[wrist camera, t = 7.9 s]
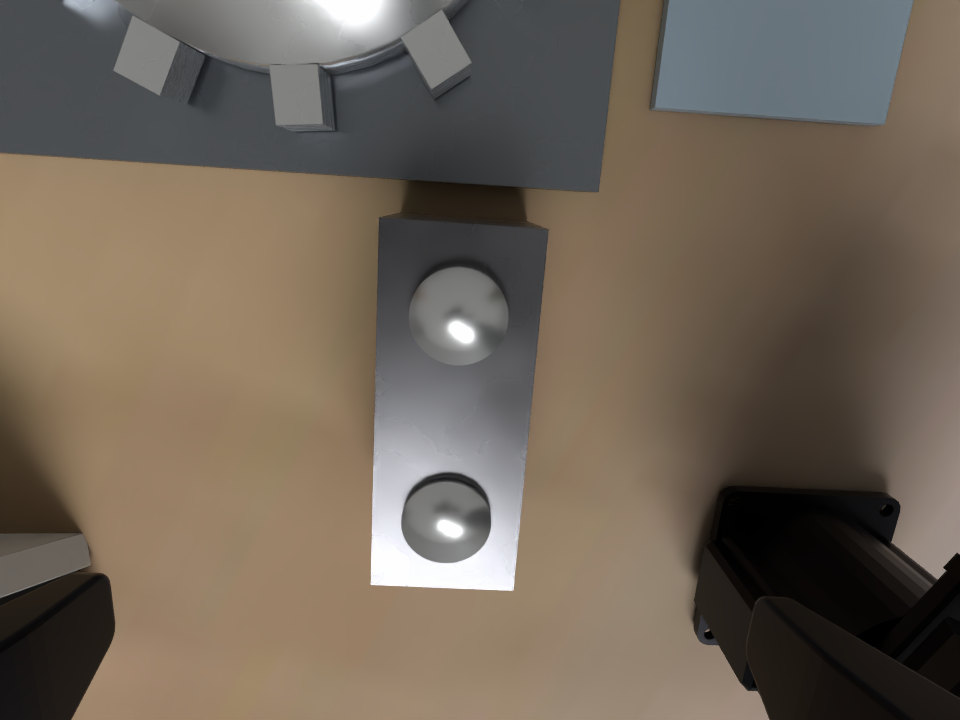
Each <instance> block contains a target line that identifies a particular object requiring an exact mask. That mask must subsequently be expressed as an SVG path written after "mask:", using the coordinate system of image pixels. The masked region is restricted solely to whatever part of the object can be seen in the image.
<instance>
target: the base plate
mask: <svg viewBox="0 0 960 720" xmlns="http://www.w3.org/2000/svg"><path fill="white" fill-rule="evenodd" d="M619 6H620V0H468V1H467V2H466V3H465V4H464V5H463V7H462V8H461V9H460V10H459V11H458V12H457V13H456V14H455V15H454V16H453V17H452V18H451V19H450V20H449V23H450V25H451V27H452V28H453V30H454V32H455V34H456V36H457V37H458V39H459V41H460V43H461V45H462V46H463V48H464V50H465V52H466V53H467V55H468V57H469V59H470V61H471V62H472V64H471V75H470V76H468V77H467V78H465V79H464V80H462V81H461V82H459V83H458V84H456V85H455V86H453V87H452V88H450V89H449V90H447V91H446V92H444V93H443V94H441V95H440V96H438V97H437V98H435V99H434V98H433V96H432V94H431V92H430V91H429V89H428V87H427V86H426V84H425V82H424V80H423V79H422V77H421V75H420V74H419V72H418V70H417V68H416V67H415V65H414V63H413V62H412V60H411V58H410V57H409V55H408V53H407V51H406V50H405V51H404V52H402V53H400V54H399V55H396V56H394V57H391V58H389V59H387V60H384V61H382V62H379V63H377V64H374V65H372V66H369V67H365V68H361V69H357V70H353V71H349V72H345V73H340V74H332V75H330V76H331V88H332V99H333V111H334V122H335V130H332V131H290V130H287V129H285V128H282V127H280V126H277V125H276V121H275V112H274V103H273V94H272V85H271V76H270V74H269V73H263V72H258V71H253V70H248V69H244V68H241V67H238V66H235V65H232V64H229V63H226V62H223V61H220V60H217V59H214V58H212V57H210V56H208V55H206V54H204V53H202V52H200V51H198V50H196V51H197V52H199V53H201V54H203V55H205V59H204V61H203V64H202V66H201V69H200V72H199V74H198V77H197V79H196V82H195V85H194V87H193V90H192V92H191V95H190V98H189V100H188V103H187V105H186V104H183V103H180V102H177V101H174V100H171V99H168V98H165V97H162V96H159V95H158V94H156V93H154V92H152V91H150V90H148V89H147V88H145V87H143V86H141V85H139V84H137V83H135V82H134V81H132V80H130V79H128V78H126V77H124V76H123V75H121V74H119V73H117V72H115V71H113V70H114V67H115V64H116V62H117V59H118V56H119V53H120V50H121V47H122V44H123V42H124V39H125V36H126V33H127V30H128V27H129V25H130V22H131V19H132V16H135V17H136V18H138V19H140V20H142V19H141V18H139V17H137V16H136V15H134V14H133V13H131V12H130V11H128V10H127V9H125V8H123V7H122V6H121V5H120V4H119V3H117V2H116V1H115V0H0V153H7V154H22V155H37V156H52V157H67V158H82V159H97V160H112V161H127V162H142V163H157V164H172V165H187V166H202V167H217V168H232V169H247V170H263V171H278V172H293V173H308V174H323V175H338V176H353V177H368V178H383V179H398V180H413V181H428V182H443V183H458V184H473V185H488V186H503V187H518V188H533V189H548V190H563V191H578V192H599V184H600V175H601V166H602V157H603V148H604V139H605V130H606V121H607V113H608V104H609V95H610V86H611V77H612V68H613V59H614V50H615V41H616V33H617V24H618V15H619ZM142 21H144V20H142ZM144 22H145V21H144ZM146 23H147V22H146ZM147 24H148V23H147ZM149 25H150V24H149ZM190 48H191V47H190ZM192 49H193V48H192ZM194 50H195V49H194Z"/></svg>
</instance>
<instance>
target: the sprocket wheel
mask: <svg viewBox="0 0 960 720" xmlns="http://www.w3.org/2000/svg"><path fill="white" fill-rule="evenodd" d="M115 1H116V2H117V3H119V4H120V5H121V6H122V7H123V8H125V9H127V10H128V11H130V12H131V13H133V14H134V15H136V16H137V17H139V18H141V19H142V20H144V21H145V22H144V21H142V20H140V19H138V18H136V17H135V16H132V19H131V22H130V25H129V27H128V30H127V33H126V36H125V39H124V42H123V44H122V47H121V50H120V53H119V56H118V59H117V62H116V64H115V67H114V70H113V71H115V72H117V73H119V74H121V75H123V76H124V77H126V78H128V79H130V80H132V81H134V82H135V83H137V84H139V85H141V86H143V87H145V88H147V89H148V90H150V91H152V92H154V93H156V94H158V95H159V96H162V97H165V98H168V99H171V100H174V101H177V102H180V103H183V104H186V105H187V103H188V100H189V98H190V95H191V92H192V90H193V87H194V85H195V82H196V79H197V77H198V74H199V72H200V69H201V66H202V64H203V61H204V59H205V55H203V54H201V53H199V52H197V51H196V50H198V51H200V52H202V53H204V54H206V55H208V56H210V57H212V58H214V59H217V60H220V61H223V62H226V63H229V64H232V65H235V66H238V67H241V68H244V69H248V70H253V71H258V72H263V73H269V74H270V76H271V85H272V94H273V103H274V112H275V121H276V125H277V126H280V127H282V128H285V129H287V130H290V131H332V130H335V122H334V111H333V99H332V88H331V76H330V75H332V74H340V73H345V72H349V71H353V70H357V69H361V68H365V67H369V66H372V65H374V64H377V63H379V62H382V61H384V60H387V59H389V58H391V57H394V56H396V55H399V54H400V53H402V52H404V51H405V50H406V51H407V53H408V55H409V57H410V58H411V60H412V62H413V63H414V65H415V67H416V68H417V70H418V72H419V74H420V75H421V77H422V79H423V80H424V82H425V84H426V86H427V87H428V89H429V91H430V92H431V94H432V96H433V98H434V99H435V98H437V97H438V96H440V95H441V94H443V93H444V92H446V91H447V90H449V89H450V88H452V87H453V86H455V85H456V84H458V83H459V82H461V81H462V80H464V79H465V78H467V77H468V76H470V75H471V64H472V62H471V61H470V59H469V57H468V55H467V53H466V52H465V50H464V48H463V46H462V45H461V43H460V41H459V39H458V37H457V36H456V34H455V32H454V30H453V28H452V27H451V25H450V23H449V20H450V19H451V18H452V17H453V16H454V15H455V14H456V13H457V12H458V11H459V10H460V9H461V8H462V7H463V5H464V4H465V3H466V2H467V1H468V0H115ZM146 22H147V23H148V24H147V23H146ZM149 24H150V25H149ZM190 47H191V48H190ZM192 48H193V49H192ZM194 49H195V50H194Z"/></svg>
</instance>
